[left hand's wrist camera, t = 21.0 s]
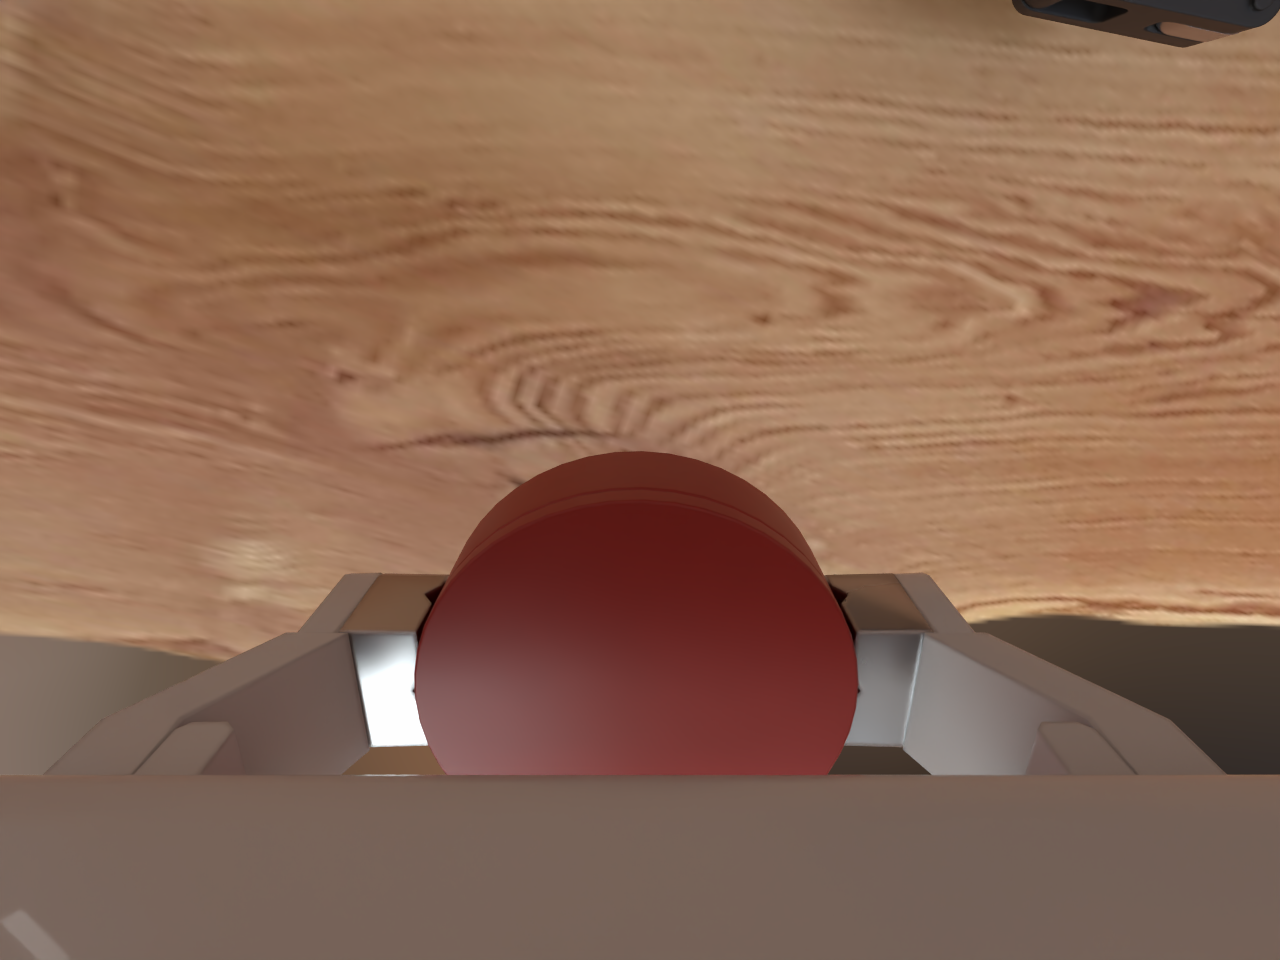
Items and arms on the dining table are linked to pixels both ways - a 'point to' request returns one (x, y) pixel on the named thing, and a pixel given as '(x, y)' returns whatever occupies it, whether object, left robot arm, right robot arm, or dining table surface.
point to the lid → (636, 632)
